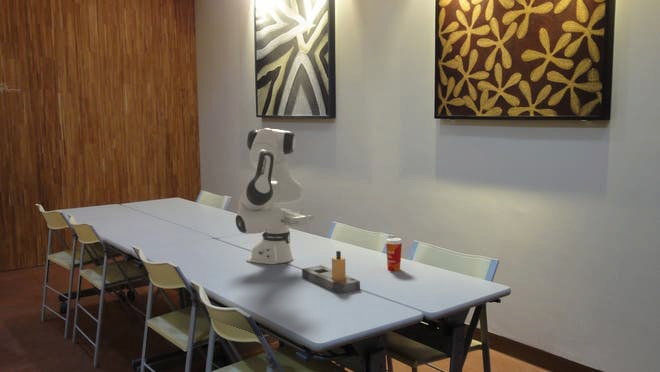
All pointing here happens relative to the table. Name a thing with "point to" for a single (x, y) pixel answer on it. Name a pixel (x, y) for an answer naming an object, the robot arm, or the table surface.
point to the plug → (338, 267)
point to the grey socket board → (330, 279)
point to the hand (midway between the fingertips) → (306, 215)
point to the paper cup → (393, 253)
